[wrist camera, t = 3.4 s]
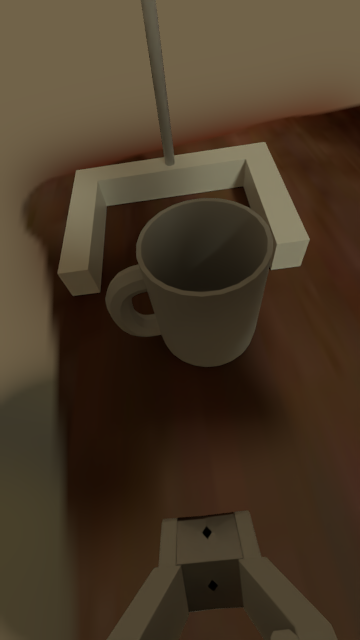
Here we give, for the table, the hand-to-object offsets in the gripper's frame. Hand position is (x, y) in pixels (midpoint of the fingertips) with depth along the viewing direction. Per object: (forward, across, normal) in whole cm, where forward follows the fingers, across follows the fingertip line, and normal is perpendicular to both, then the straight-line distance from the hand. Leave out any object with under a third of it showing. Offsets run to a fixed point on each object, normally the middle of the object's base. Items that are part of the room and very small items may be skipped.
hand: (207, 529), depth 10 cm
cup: (+14, 0, -3) cm, 15 cm away
